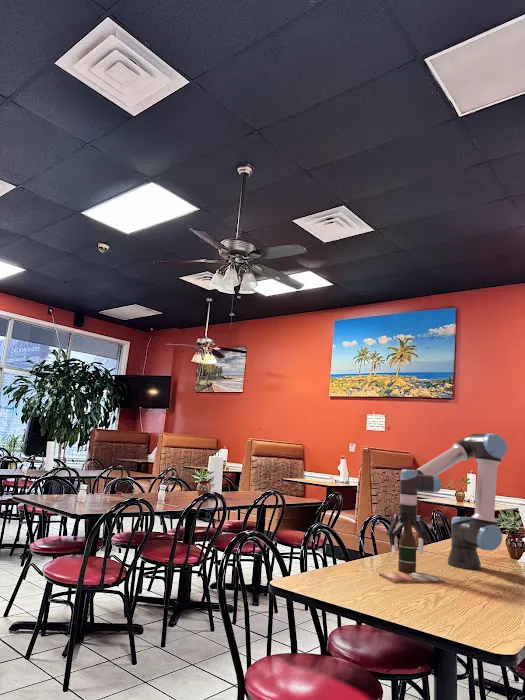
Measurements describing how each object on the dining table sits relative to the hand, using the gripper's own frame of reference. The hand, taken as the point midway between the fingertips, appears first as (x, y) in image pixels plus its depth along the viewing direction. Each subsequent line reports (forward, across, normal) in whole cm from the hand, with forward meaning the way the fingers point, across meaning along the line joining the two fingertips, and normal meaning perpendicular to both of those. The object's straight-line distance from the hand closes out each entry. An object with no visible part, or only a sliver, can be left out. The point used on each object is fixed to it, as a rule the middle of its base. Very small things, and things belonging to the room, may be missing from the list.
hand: (407, 553), depth 227 cm
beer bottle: (+8, 0, 0) cm, 8 cm away
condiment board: (+8, +6, +13) cm, 16 cm away
